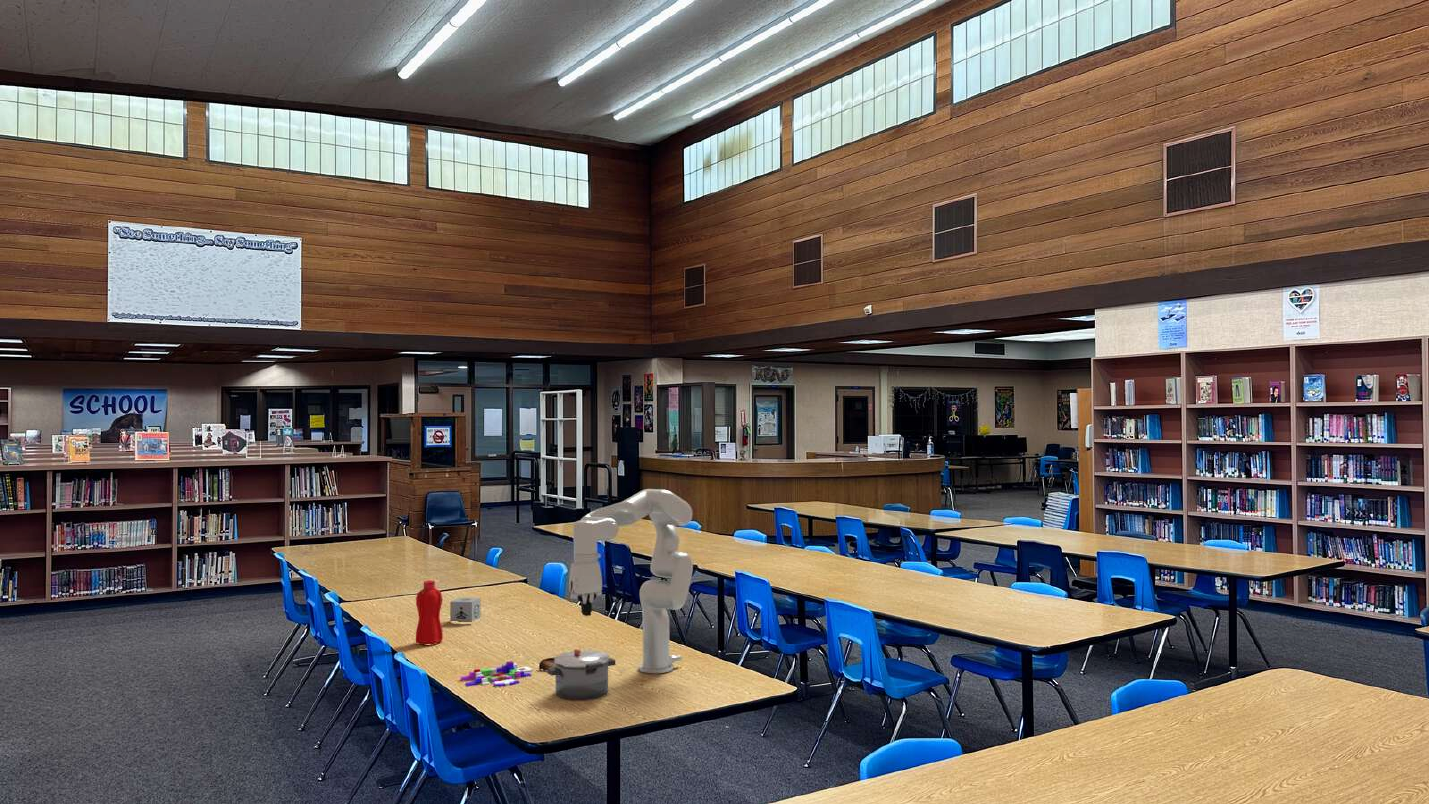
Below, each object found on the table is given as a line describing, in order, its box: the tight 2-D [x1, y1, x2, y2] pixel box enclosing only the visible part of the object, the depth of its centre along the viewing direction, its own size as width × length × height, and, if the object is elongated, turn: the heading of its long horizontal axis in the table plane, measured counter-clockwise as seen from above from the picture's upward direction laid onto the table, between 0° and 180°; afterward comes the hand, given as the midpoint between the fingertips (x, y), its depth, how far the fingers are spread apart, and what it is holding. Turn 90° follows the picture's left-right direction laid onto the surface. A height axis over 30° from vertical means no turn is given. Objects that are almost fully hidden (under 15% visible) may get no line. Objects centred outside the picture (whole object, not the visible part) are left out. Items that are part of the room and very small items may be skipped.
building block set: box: [460, 660, 534, 687], centre depth 312 cm, size 25×20×4 cm
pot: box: [546, 657, 616, 702], centre depth 295 cm, size 23×18×10 cm
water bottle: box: [415, 580, 444, 645], centre depth 363 cm, size 9×11×25 cm
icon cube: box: [449, 596, 482, 622], centre depth 403 cm, size 10×10×10 cm
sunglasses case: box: [538, 656, 556, 670], centre depth 328 cm, size 18×7×7 cm
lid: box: [554, 648, 610, 669], centre depth 294 cm, size 18×20×3 cm
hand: (586, 615), depth 293 cm, fingers closed
